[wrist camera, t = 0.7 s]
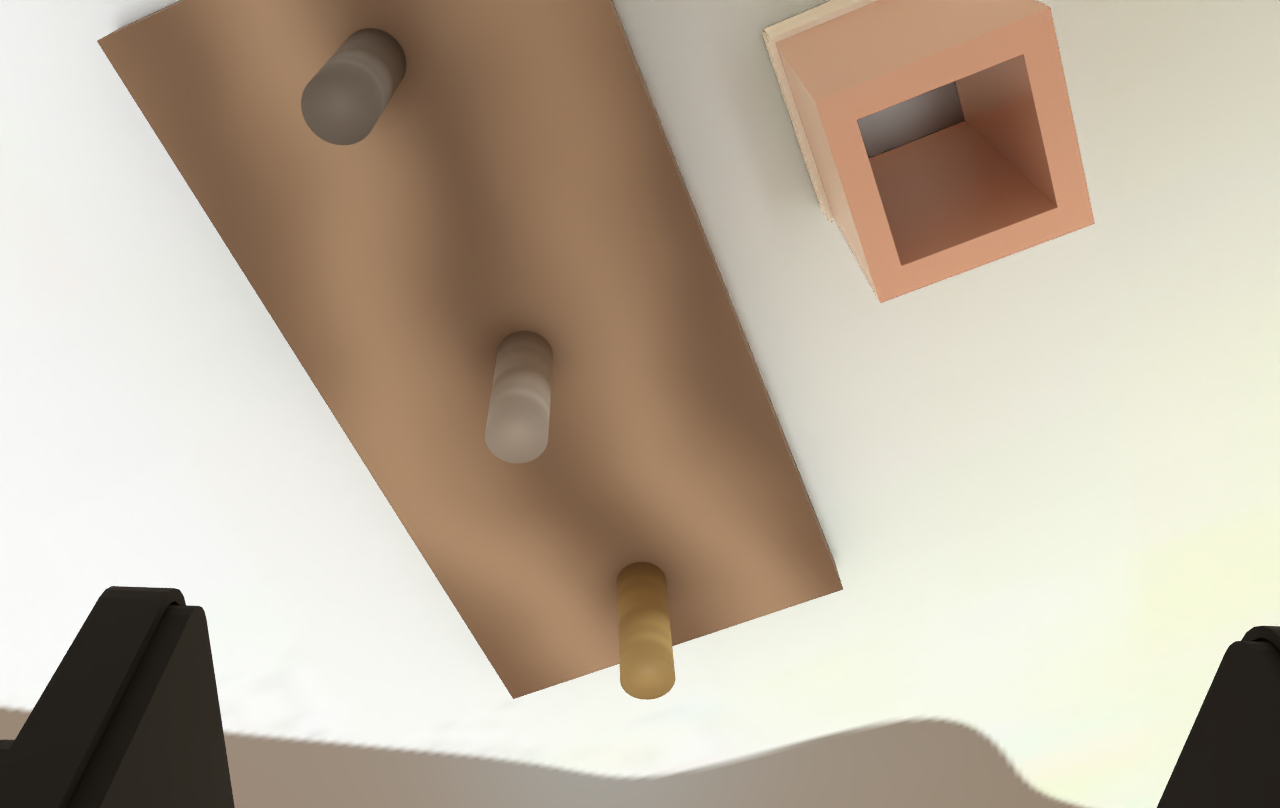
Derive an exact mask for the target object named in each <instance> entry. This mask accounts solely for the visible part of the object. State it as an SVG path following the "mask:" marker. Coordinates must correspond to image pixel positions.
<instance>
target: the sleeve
mask: <svg viewBox="0 0 1280 808" xmlns="http://www.w3.org/2000/svg"><path fill="white" fill-rule="evenodd" d="M764 31H765V32H762V35H763V38H764V41H765V44H766V47H767V50H768V53H769V56H770V59H771V62H772V65H773V68H774V71H775V74H776V77H777V80H778V83H779V86H780V89H781V92H782V95H783V98H784V101H785V104H786V107H787V110H788V113H789V115H790V118H791V121H792V124H793V127H794V130H795V133H796V136H797V139H798V142H799V145H800V148H801V151H802V154H803V157H804V160H805V163H806V166H807V169H808V172H809V175H810V178H811V181H812V184H813V187H814V190H815V193H816V196H817V199H818V202H819V205H820V207H821V209H822V211H823V213H824V215H825V216H826V218H827V220H830V221H831V222H832V221H834V220H835V222H836V223H837V225H838V227H839V229H840V231H841V233H842V234H843V236H844V238H845V240H846V242H847V244H848V245H849V247H850V249H851V251H852V253H853V254H854V256H855V258H856V260H857V262H858V264H859V265H860V267H861V269H862V271H863V273H864V275H865V276H866V278H867V280H868V282H869V284H870V286H871V287H872V289H873V291H874V293H875V295H876V297H877V298H878V300H879V302H880V303H882V302H885V301H887V300H890V299H893V298H895V297H898V296H901V295H903V294H906V293H909V292H911V291H914V290H917V289H920V288H922V287H925V286H928V285H930V284H933V283H936V282H938V281H941V280H944V279H946V278H949V277H952V276H955V275H957V274H960V273H963V272H965V271H968V270H971V269H973V268H976V267H979V266H982V265H984V264H987V263H990V262H992V261H995V260H998V259H1000V258H1003V257H1006V256H1008V255H1011V254H1014V253H1017V252H1019V251H1022V250H1025V249H1027V248H1030V247H1033V246H1035V245H1038V244H1041V243H1043V242H1046V241H1049V240H1052V239H1054V238H1057V237H1060V236H1062V235H1065V234H1068V233H1070V232H1073V231H1076V230H1078V229H1081V228H1084V227H1087V226H1089V225H1092V224H1095V223H1094V218H1093V213H1092V208H1091V203H1090V199H1089V194H1088V189H1087V184H1086V179H1085V174H1084V169H1083V165H1082V160H1081V155H1080V150H1079V145H1078V140H1077V135H1076V130H1075V126H1074V121H1073V116H1072V111H1071V106H1070V101H1069V96H1068V92H1067V87H1066V82H1065V77H1064V72H1063V67H1062V62H1061V57H1060V53H1059V48H1058V43H1057V38H1056V33H1055V28H1054V23H1053V19H1052V14H1051V9H1050V7H1048V6H1046V5H1045V4H1043V3H1041V2H1039V1H1037V0H831V1H829V2H826V3H824V4H822V5H819V6H817V7H814V8H812V9H810V10H807V11H805V12H802V13H800V14H798V15H795V16H793V17H790V18H788V19H786V20H783V21H781V22H778V23H776V24H774V25H771V26H769V27H766V28H764ZM954 81H955V84H956V88H957V92H958V95H959V99H960V103H961V107H962V111H963V115H964V119H965V121H963V122H961V123H958V124H956V125H953V126H951V127H948V128H946V129H943V130H940V131H938V132H935V133H933V134H930V135H928V136H925V137H923V138H920V139H918V140H915V141H912V142H910V143H907V144H905V145H902V146H900V147H897V148H895V149H892V150H890V151H887V152H884V153H882V154H879V155H877V156H874V157H872V158H868V155H867V152H866V149H865V145H864V142H863V139H862V136H861V132H860V129H859V126H858V122H857V120H858V119H861V118H863V117H866V116H868V115H871V114H874V113H876V112H879V111H881V110H884V109H886V108H889V107H891V106H894V105H896V104H899V103H901V102H904V101H906V100H909V99H911V98H914V97H916V96H919V95H921V94H924V93H926V92H929V91H931V90H934V89H936V88H939V87H941V86H944V85H946V84H949V83H951V82H954Z"/></svg>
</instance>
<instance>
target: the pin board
mask: <svg viewBox="0 0 1280 808" xmlns="http://www.w3.org/2000/svg"><path fill="white" fill-rule="evenodd" d="M97 42H98V43H99V45H100V46H101V48H102V50H103V51H104V53H105V54H106V56H107V58H108V59H109V61H110V62H111V64H112V65H113V67H114V69H115V70H116V72H117V73H118V75H119V77H120V78H121V80H122V81H123V83H124V84H125V86H126V88H127V89H128V91H129V92H130V94H131V95H132V97H133V99H134V100H135V102H136V103H137V105H138V107H139V108H140V110H141V111H142V113H143V114H144V116H145V118H146V119H147V121H148V122H149V124H150V126H151V127H152V129H153V130H154V132H155V133H156V135H157V137H158V138H159V140H160V141H161V143H162V144H163V146H164V148H165V149H166V151H167V152H168V154H169V156H170V157H171V159H172V160H173V162H174V163H175V165H176V167H177V168H178V170H179V171H180V173H181V175H182V176H183V178H184V179H185V181H186V182H187V184H188V186H189V187H190V189H191V190H192V192H193V193H194V195H195V197H196V198H197V200H198V201H199V203H200V205H201V206H202V208H203V209H204V211H205V212H206V214H207V216H208V217H209V219H210V220H211V222H212V223H213V225H214V227H215V228H216V230H217V231H218V233H219V235H220V236H221V238H222V239H223V241H224V242H225V244H226V246H227V247H228V249H229V250H230V252H231V254H232V255H233V257H234V258H235V260H236V261H237V263H238V265H239V266H240V268H241V269H242V271H243V272H244V274H245V276H246V277H247V279H248V280H249V282H250V284H251V285H252V287H253V288H254V290H255V291H256V293H257V295H258V296H259V298H260V299H261V301H262V303H263V304H264V306H265V307H266V309H267V310H268V312H269V314H270V315H271V317H272V318H273V320H274V321H275V323H276V325H277V326H278V328H279V329H280V331H281V333H282V334H283V336H284V337H285V339H286V340H287V342H288V344H289V345H290V347H291V348H292V350H293V351H294V353H295V355H296V356H297V358H298V359H299V361H300V363H301V364H302V366H303V367H304V369H305V370H306V372H307V374H308V375H309V377H310V378H311V380H312V382H313V383H314V385H315V386H316V388H317V389H318V391H319V393H320V394H321V396H322V397H323V399H324V400H325V402H326V404H327V405H328V407H329V408H330V410H331V412H332V413H333V415H334V416H335V418H336V419H337V421H338V423H339V424H340V426H341V427H342V429H343V431H344V432H345V434H346V435H347V437H348V438H349V440H350V442H351V443H352V445H353V446H354V448H355V449H356V451H357V453H358V454H359V456H360V457H361V459H362V461H363V462H364V464H365V465H366V467H367V468H368V470H369V472H370V473H371V475H372V476H373V478H374V479H375V481H376V483H377V484H378V486H379V487H380V489H381V491H382V492H383V494H384V495H385V497H386V498H387V500H388V502H389V503H390V505H391V506H392V508H393V510H394V511H395V513H396V514H397V516H398V517H399V519H400V521H401V522H402V524H403V525H404V527H405V528H406V530H407V532H408V533H409V535H410V536H411V538H412V540H413V541H414V543H415V544H416V546H417V547H418V549H419V551H420V552H421V554H422V555H423V557H424V559H425V560H426V562H427V563H428V565H429V566H430V568H431V570H432V571H433V573H434V574H435V576H436V577H437V579H438V581H439V582H440V584H441V585H442V587H443V589H444V590H445V592H446V593H447V595H448V596H449V598H450V600H451V601H452V603H453V604H454V606H455V607H456V609H457V611H458V612H459V614H460V615H461V617H462V619H463V620H464V622H465V623H466V625H467V626H468V628H469V630H470V631H471V633H472V634H473V636H474V638H475V639H476V641H477V642H478V644H479V645H480V647H481V649H482V650H483V652H484V653H485V655H486V656H487V658H488V660H489V661H490V663H491V664H492V666H493V668H494V669H495V671H496V672H497V674H498V675H499V677H500V679H501V680H502V682H503V683H504V685H505V687H506V688H507V690H508V691H509V693H510V694H511V696H512V698H513V699H515V698H518V697H521V696H524V695H527V694H530V693H533V692H536V691H539V690H542V689H545V688H548V687H551V686H554V685H557V684H560V683H563V682H566V681H569V680H572V679H575V678H578V677H581V676H584V675H587V674H590V673H593V672H596V671H599V670H602V669H605V668H608V667H611V666H614V665H617V664H620V682H621V686H622V688H623V689H624V690H625V692H626V693H628V694H629V695H631V696H633V697H635V698H639V699H655V698H658V697H661V696H663V695H665V694H666V693H667V692H669V691H670V690H671V688H672V687H673V685H674V682H675V671H674V660H673V650H672V646H674V645H677V644H680V643H683V642H686V641H689V640H692V639H695V638H698V637H701V636H704V635H707V634H710V633H713V632H716V631H719V630H722V629H725V628H728V627H731V626H734V625H737V624H740V623H743V622H746V621H749V620H752V619H755V618H758V617H761V616H764V615H767V614H770V613H773V612H776V611H779V610H782V609H785V608H788V607H791V606H794V605H797V604H800V603H803V602H806V601H809V600H813V599H816V598H819V597H822V596H825V595H828V594H831V593H834V592H837V591H840V590H843V587H842V584H841V581H840V578H839V575H838V571H837V568H836V565H835V562H834V559H833V557H832V554H831V552H830V549H829V547H828V544H827V541H826V539H825V536H824V534H823V531H822V529H821V526H820V524H819V521H818V519H817V516H816V514H815V511H814V509H813V506H812V504H811V501H810V499H809V496H808V494H807V491H806V489H805V486H804V483H803V481H802V478H801V476H800V473H799V471H798V468H797V466H796V463H795V461H794V458H793V456H792V453H791V451H790V448H789V446H788V443H787V441H786V438H785V436H784V433H783V430H782V428H781V425H780V423H779V420H778V418H777V415H776V413H775V410H774V408H773V405H772V403H771V400H770V398H769V395H768V393H767V390H766V388H765V385H764V383H763V380H762V378H761V375H760V372H759V370H758V367H757V365H756V362H755V360H754V357H753V355H752V352H751V350H750V347H749V345H748V342H747V340H746V337H745V335H744V332H743V330H742V327H741V325H740V322H739V319H738V317H737V314H736V312H735V309H734V307H733V304H732V302H731V299H730V297H729V294H728V292H727V289H726V287H725V284H724V282H723V279H722V277H721V274H720V272H719V269H718V267H717V264H716V261H715V259H714V256H713V254H712V251H711V249H710V246H709V244H708V241H707V239H706V236H705V234H704V231H703V229H702V226H701V224H700V221H699V219H698V216H697V214H696V211H695V208H694V206H693V203H692V201H691V198H690V196H689V193H688V191H687V188H686V186H685V183H684V181H683V178H682V176H681V173H680V171H679V168H678V166H677V163H676V161H675V158H674V156H673V153H672V150H671V148H670V145H669V143H668V140H667V138H666V135H665V133H664V130H663V128H662V125H661V123H660V120H659V118H658V115H657V113H656V110H655V108H654V105H653V103H652V100H651V97H650V95H649V92H648V90H647V87H646V85H645V82H644V80H643V77H642V75H641V72H640V70H639V67H638V65H637V62H636V60H635V57H634V55H633V52H632V50H631V47H630V45H629V42H628V39H627V37H626V34H625V32H624V29H623V27H622V24H621V22H620V19H619V17H618V14H617V12H616V9H615V7H614V4H613V2H612V0H181V1H178V2H176V3H174V4H172V5H170V6H167V7H165V8H163V9H161V10H159V11H157V12H154V13H152V14H150V15H148V16H146V17H144V18H141V19H139V20H137V21H135V22H133V23H131V24H128V25H126V26H124V27H122V28H120V29H118V30H116V31H114V32H112V33H111V34H109V35H107V36H105V37H103V38H102V39H100V40H98V41H97Z"/></svg>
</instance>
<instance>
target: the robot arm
mask: <svg viewBox="0 0 1280 808" xmlns="http://www.w3.org/2000/svg"><path fill="white" fill-rule="evenodd" d="M0 808H234V801H233V795H232V788H231V781H230V774H229V768H228V762H227V754H226V747H225V741H224V734H223V727H222V721H221V714H220V707H219V701H218V694H217V687H216V680H215V674H214V667H213V660H212V654H211V647H210V640H209V634H208V627H207V620H206V616H205V612H204V610H203V608H202V607H200V606H186V604H185V600H184V596H183V594H182V593H181V591H180V590H178V589H175V588H147V587H118V586H111V587H110V588H108V589H106V590H105V591H104V592H103V593H102V595H101V596H100V597H99V599H98V601H97V602H96V604H95V606H94V607H93V609H92V611H91V612H90V614H89V616H88V617H87V619H86V621H85V623H84V624H83V626H82V628H81V629H80V631H79V633H78V634H77V636H76V638H75V639H74V641H73V643H72V645H71V646H70V648H69V650H68V651H67V653H66V655H65V656H64V658H63V660H62V661H61V663H60V665H59V667H58V668H57V670H56V672H55V673H54V675H53V677H52V678H51V680H50V682H49V683H48V685H47V687H46V688H45V690H44V692H43V694H42V695H41V697H40V699H39V700H38V702H37V704H36V705H35V707H34V709H33V710H32V712H31V714H30V716H29V717H28V719H27V721H26V723H25V724H24V726H23V727H22V729H21V731H20V732H19V734H18V736H17V738H16V739H15V740H0ZM1157 808H1280V626H1258V627H1253V628H1252V629H1251V630H1249V631H1248V632H1246V634H1245V636H1244V637H1243V639H1242V640H1241V641H1236V642H1234V643H1233V644H1231V645H1230V646H1229V648H1228V649H1227V651H1226V652H1225V655H1224V657H1223V659H1222V661H1221V664H1220V666H1219V668H1218V670H1217V673H1216V675H1215V677H1214V679H1213V682H1212V684H1211V686H1210V688H1209V691H1208V693H1207V695H1206V698H1205V700H1204V702H1203V704H1202V707H1201V709H1200V711H1199V713H1198V716H1197V718H1196V720H1195V722H1194V725H1193V727H1192V729H1191V732H1190V734H1189V736H1188V738H1187V741H1186V743H1185V745H1184V747H1183V750H1182V752H1181V754H1180V756H1179V759H1178V761H1177V763H1176V765H1175V768H1174V770H1173V772H1172V775H1171V777H1170V779H1169V781H1168V784H1167V786H1166V788H1165V790H1164V793H1163V795H1162V797H1161V799H1160V802H1159V804H1158V806H1157Z"/></svg>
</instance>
